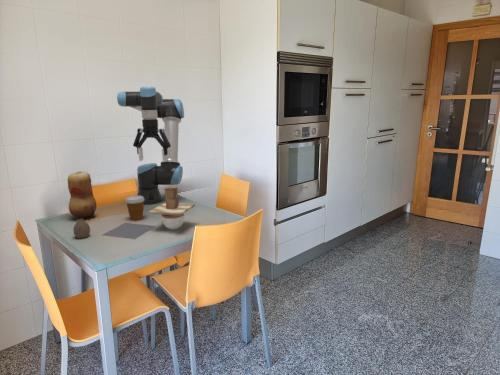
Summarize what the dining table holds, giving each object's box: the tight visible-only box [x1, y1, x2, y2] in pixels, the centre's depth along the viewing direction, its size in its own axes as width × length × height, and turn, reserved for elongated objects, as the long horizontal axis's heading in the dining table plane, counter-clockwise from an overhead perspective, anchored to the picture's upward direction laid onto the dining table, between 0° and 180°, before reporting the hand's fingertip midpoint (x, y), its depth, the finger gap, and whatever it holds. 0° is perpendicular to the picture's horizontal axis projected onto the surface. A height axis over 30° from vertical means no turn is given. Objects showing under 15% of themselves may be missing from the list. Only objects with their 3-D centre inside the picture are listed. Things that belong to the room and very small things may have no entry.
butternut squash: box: [67, 170, 98, 219], centre depth 190 cm, size 14×13×25 cm
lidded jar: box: [161, 213, 185, 230], centre depth 175 cm, size 11×11×9 cm
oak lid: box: [148, 185, 196, 216], centre depth 173 cm, size 16×16×11 cm
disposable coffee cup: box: [125, 194, 145, 222], centre depth 188 cm, size 10×10×12 cm
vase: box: [72, 218, 91, 240], centre depth 164 cm, size 7×7×9 cm
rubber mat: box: [102, 222, 157, 240], centre depth 172 cm, size 18×18×1 cm
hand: (152, 161), depth 184 cm, fingers open, 13 cm apart
